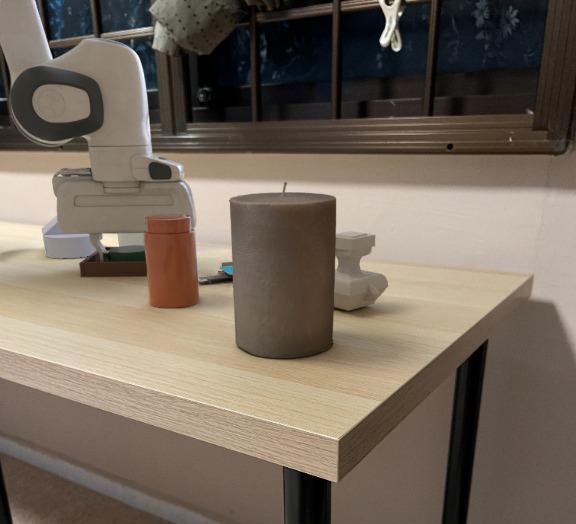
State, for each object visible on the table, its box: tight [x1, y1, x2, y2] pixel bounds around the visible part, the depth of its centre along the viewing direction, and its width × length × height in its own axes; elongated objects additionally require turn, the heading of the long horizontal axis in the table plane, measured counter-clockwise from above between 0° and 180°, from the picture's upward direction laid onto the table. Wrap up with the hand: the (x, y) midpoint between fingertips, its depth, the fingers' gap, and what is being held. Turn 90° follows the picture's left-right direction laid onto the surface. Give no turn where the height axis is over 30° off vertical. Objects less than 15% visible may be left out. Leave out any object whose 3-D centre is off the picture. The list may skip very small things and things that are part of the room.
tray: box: [78, 246, 147, 278], centre depth 93 cm, size 12×13×2 cm
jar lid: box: [109, 245, 146, 262], centre depth 93 cm, size 7×7×2 cm
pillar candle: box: [228, 181, 337, 359], centre depth 57 cm, size 10×10×15 cm
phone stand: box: [198, 261, 233, 285], centre depth 86 cm, size 20×12×2 cm, turn 114°
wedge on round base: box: [41, 215, 97, 259], centre depth 105 cm, size 9×7×13 cm
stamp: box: [334, 230, 389, 312], centre depth 70 cm, size 9×7×8 cm
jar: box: [143, 214, 200, 309], centre depth 72 cm, size 6×6×10 cm
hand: (132, 262), depth 93 cm, fingers closed on jar lid, 6 cm apart
